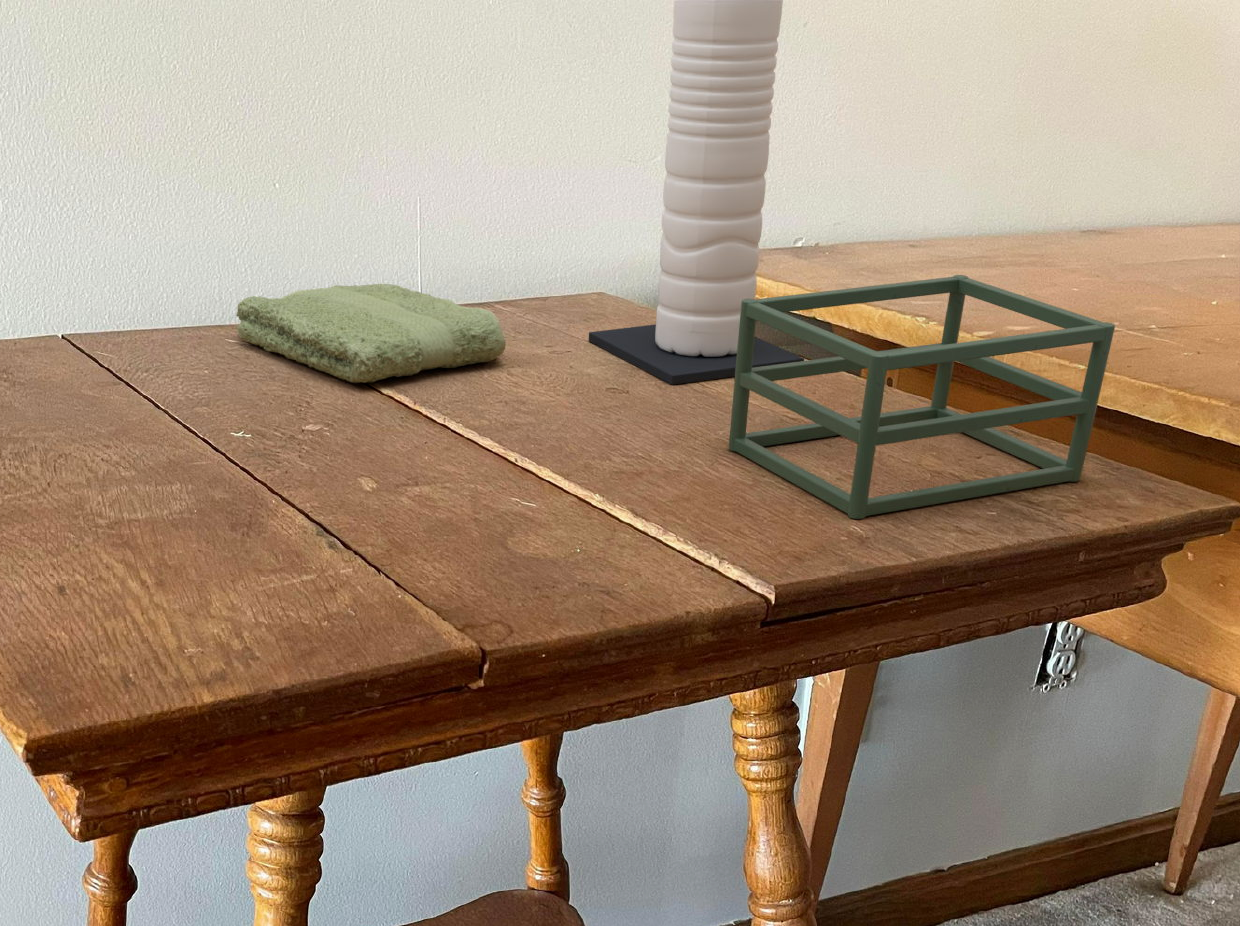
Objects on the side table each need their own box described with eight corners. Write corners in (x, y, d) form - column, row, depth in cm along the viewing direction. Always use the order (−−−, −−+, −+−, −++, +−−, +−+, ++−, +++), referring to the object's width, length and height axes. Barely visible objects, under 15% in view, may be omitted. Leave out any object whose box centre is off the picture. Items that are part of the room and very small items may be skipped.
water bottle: (770, 345, 104) (815, -110, 89) (710, 364, 100) (746, -107, 85) (671, 323, 109) (698, -112, 94) (610, 340, 105) (628, -109, 90)
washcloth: (382, 311, 114) (380, 264, 112) (518, 364, 102) (519, 312, 101) (223, 337, 108) (218, 288, 106) (349, 396, 97) (345, 342, 95)
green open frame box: (1083, 480, 83) (1119, 325, 79) (854, 520, 79) (877, 357, 74) (938, 416, 93) (962, 273, 88) (725, 448, 88) (738, 299, 83)
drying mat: (803, 367, 102) (804, 358, 101) (671, 385, 98) (672, 375, 98) (712, 326, 110) (712, 317, 110) (588, 341, 107) (588, 331, 107)
